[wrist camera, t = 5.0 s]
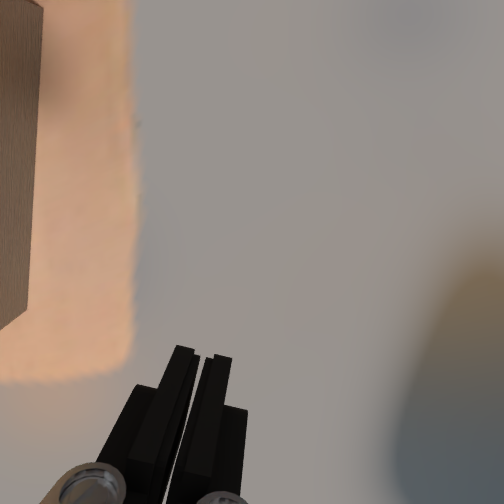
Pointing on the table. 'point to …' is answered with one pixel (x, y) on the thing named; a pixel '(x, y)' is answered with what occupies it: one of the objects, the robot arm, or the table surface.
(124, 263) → the table surface
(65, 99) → the table surface
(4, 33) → the long flat gray bar
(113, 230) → the table surface
